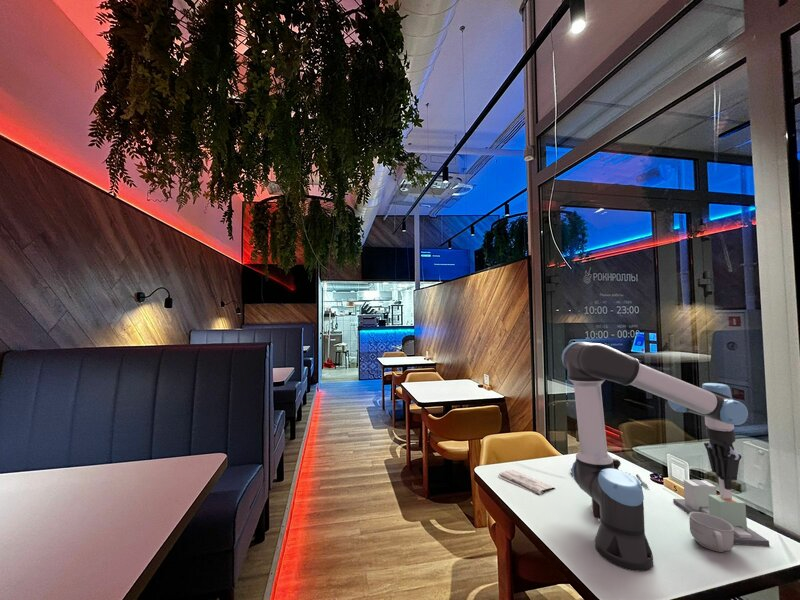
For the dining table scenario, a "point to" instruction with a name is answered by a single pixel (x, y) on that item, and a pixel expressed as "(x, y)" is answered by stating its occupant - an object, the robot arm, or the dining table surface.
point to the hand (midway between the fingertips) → (726, 497)
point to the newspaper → (524, 481)
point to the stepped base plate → (699, 502)
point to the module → (728, 510)
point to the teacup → (711, 531)
